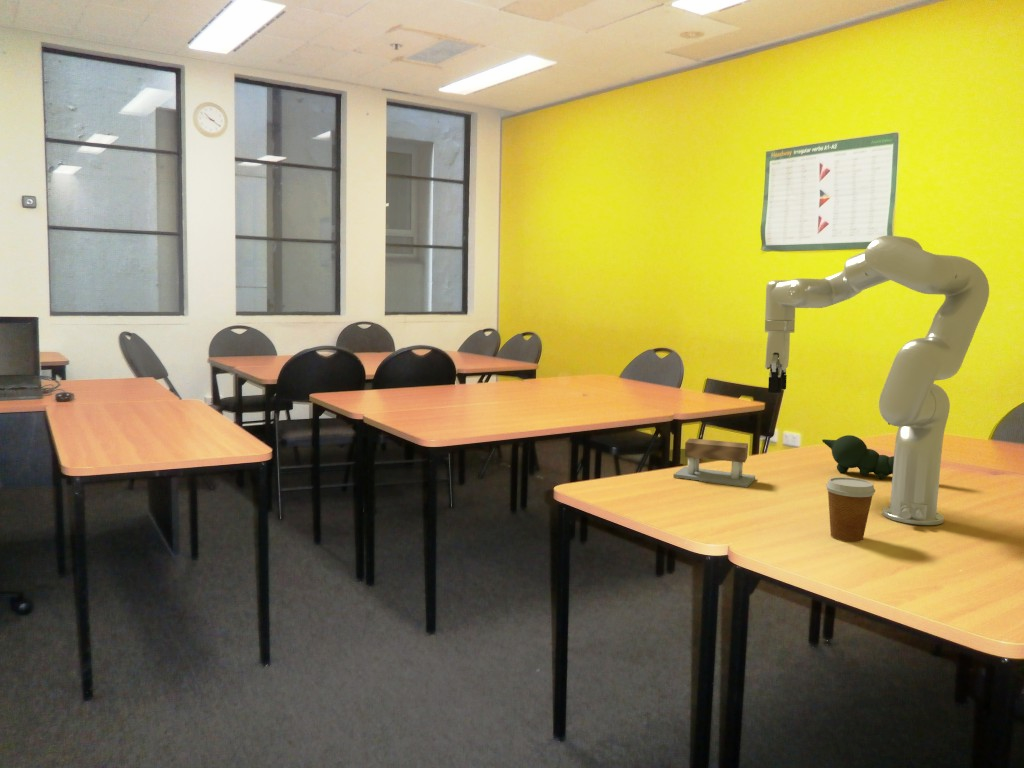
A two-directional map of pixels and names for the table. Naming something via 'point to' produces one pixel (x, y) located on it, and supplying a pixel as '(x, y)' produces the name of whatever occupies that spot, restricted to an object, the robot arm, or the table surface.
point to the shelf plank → (716, 450)
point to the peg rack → (715, 474)
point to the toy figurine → (859, 457)
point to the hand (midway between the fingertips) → (777, 390)
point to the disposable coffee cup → (849, 507)
